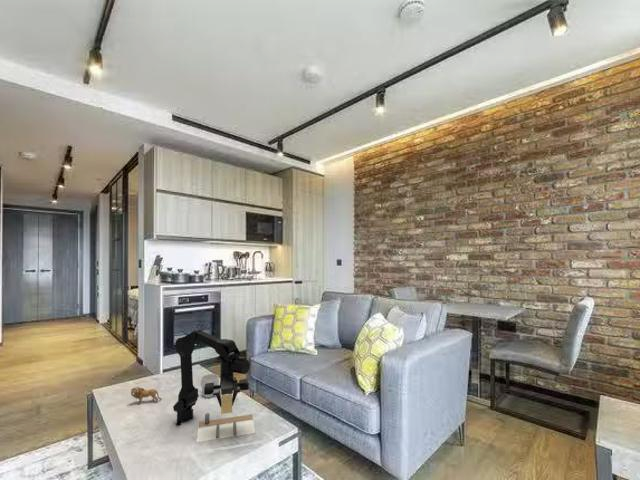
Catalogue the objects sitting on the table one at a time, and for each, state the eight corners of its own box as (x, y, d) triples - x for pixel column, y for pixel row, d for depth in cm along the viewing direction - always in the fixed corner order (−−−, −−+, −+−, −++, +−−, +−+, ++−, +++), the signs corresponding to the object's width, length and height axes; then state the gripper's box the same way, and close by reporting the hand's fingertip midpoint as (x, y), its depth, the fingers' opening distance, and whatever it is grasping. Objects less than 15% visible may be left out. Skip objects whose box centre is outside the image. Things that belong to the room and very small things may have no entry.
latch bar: (221, 405, 142) (221, 395, 142) (231, 403, 143) (231, 393, 144) (221, 414, 134) (221, 403, 135) (232, 412, 136) (232, 401, 136)
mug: (221, 394, 177) (221, 376, 177) (207, 400, 170) (207, 381, 170) (208, 388, 184) (208, 371, 185) (194, 394, 177) (194, 376, 178)
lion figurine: (129, 407, 162) (130, 389, 162) (131, 402, 167) (131, 385, 167) (161, 402, 168) (161, 385, 168) (162, 398, 173) (162, 381, 173)
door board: (196, 444, 130) (196, 432, 131) (199, 424, 146) (199, 412, 146) (254, 435, 137) (255, 423, 137) (252, 416, 153) (252, 405, 153)
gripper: (203, 379, 129) (202, 418, 129) (249, 374, 135) (249, 412, 134) (205, 370, 140) (204, 405, 139) (248, 365, 145) (247, 400, 145)
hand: (226, 406), depth 139 cm, fingers closed on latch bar, 4 cm apart
